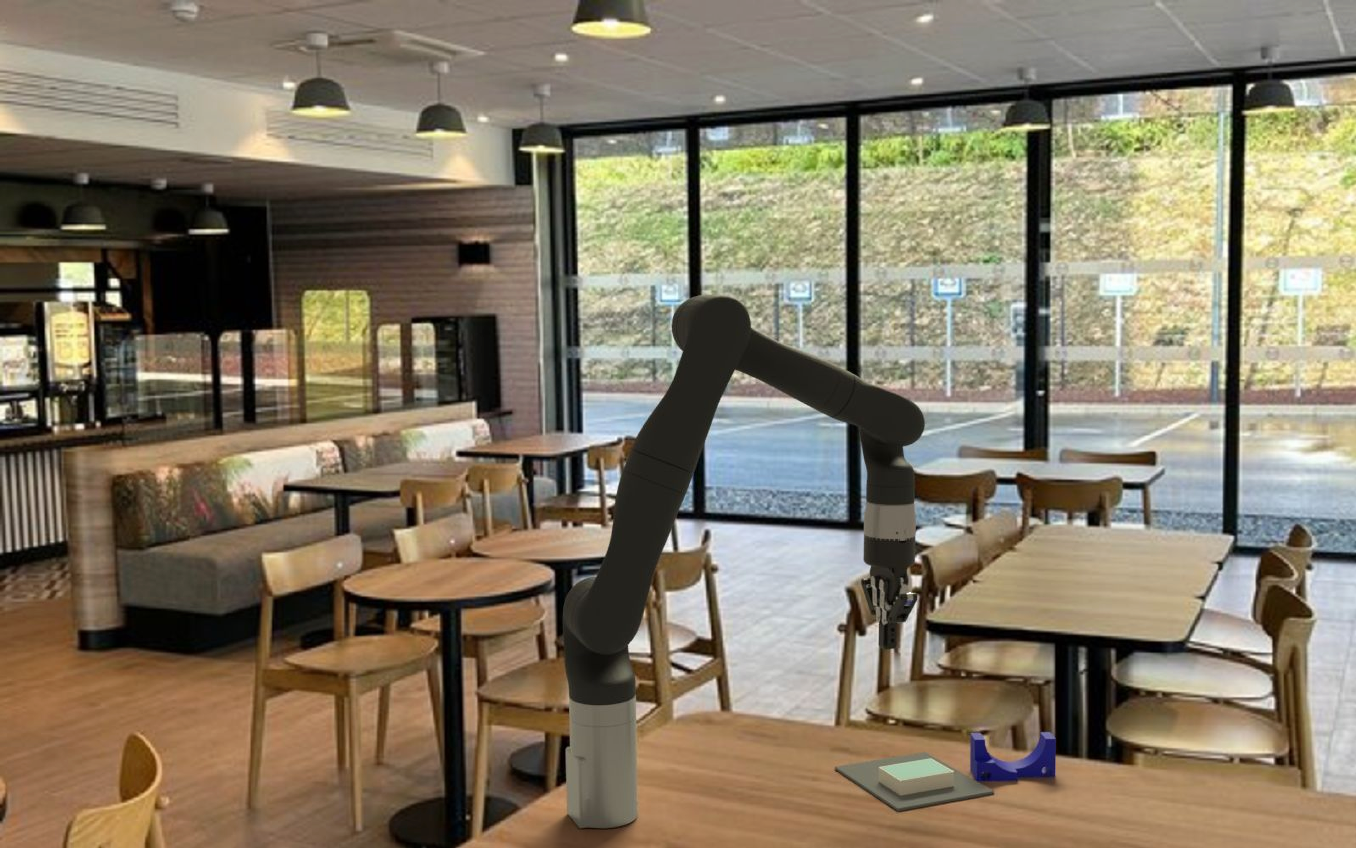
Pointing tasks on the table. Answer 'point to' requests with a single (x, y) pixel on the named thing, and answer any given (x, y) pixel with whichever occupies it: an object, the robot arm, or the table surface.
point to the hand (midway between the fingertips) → (887, 647)
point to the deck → (916, 776)
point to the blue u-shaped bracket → (999, 770)
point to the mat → (869, 780)
